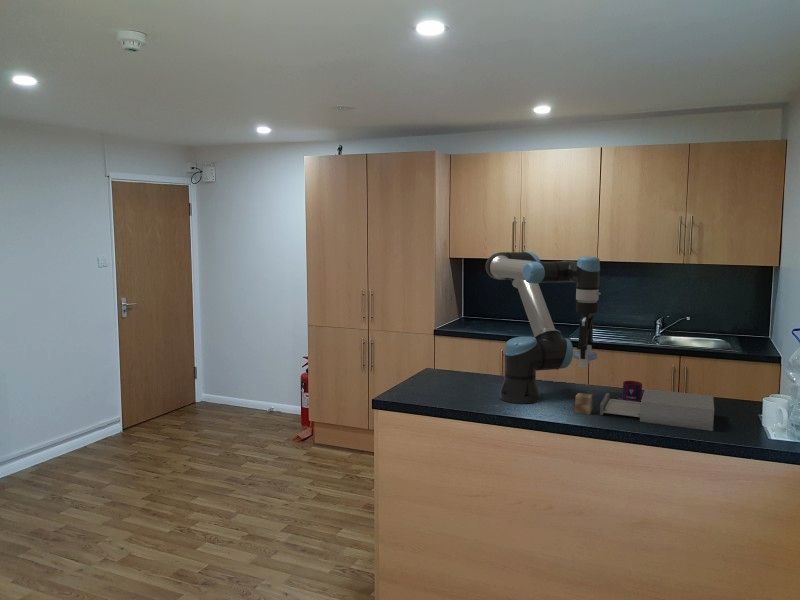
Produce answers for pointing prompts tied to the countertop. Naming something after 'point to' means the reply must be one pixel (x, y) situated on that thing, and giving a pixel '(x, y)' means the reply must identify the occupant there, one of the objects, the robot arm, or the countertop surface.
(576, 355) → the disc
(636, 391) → the mug
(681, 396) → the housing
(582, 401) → the block
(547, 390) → the countertop surface
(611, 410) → the tray
